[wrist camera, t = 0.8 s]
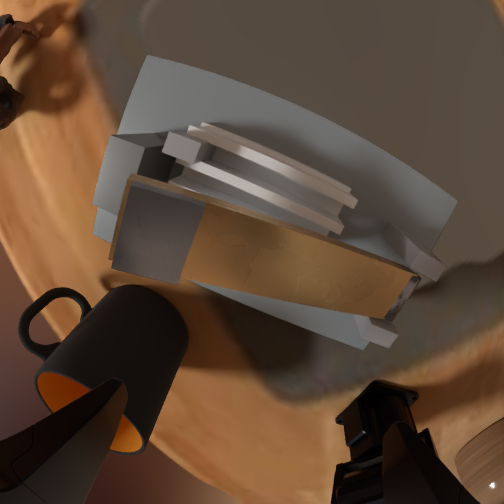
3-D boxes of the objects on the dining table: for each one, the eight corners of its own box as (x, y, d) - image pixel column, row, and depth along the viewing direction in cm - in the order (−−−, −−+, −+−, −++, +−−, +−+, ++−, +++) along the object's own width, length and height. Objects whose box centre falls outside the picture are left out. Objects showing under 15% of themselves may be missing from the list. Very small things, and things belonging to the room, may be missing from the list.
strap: (413, 268, 15) (428, 282, 14) (385, 310, 16) (398, 326, 15) (132, 171, 9) (124, 183, 8) (113, 245, 10) (106, 266, 9)
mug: (88, 235, 21) (-6, 299, 11) (208, 328, 23) (168, 437, 13) (62, 299, 23) (-5, 366, 14) (161, 376, 25) (122, 464, 16)
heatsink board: (451, 197, 17) (501, 223, 11) (360, 342, 22) (376, 397, 16) (153, 58, 15) (105, 35, 10) (99, 229, 20) (50, 261, 15)
